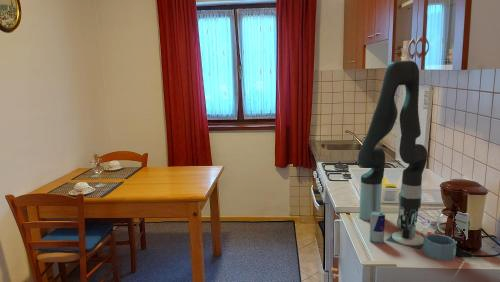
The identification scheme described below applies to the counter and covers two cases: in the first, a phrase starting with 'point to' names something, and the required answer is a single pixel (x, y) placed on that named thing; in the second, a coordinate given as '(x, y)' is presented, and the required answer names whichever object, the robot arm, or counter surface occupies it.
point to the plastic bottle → (399, 212)
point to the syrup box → (463, 222)
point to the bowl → (439, 247)
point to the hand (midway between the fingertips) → (408, 235)
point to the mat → (402, 244)
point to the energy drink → (377, 227)
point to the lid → (413, 237)
